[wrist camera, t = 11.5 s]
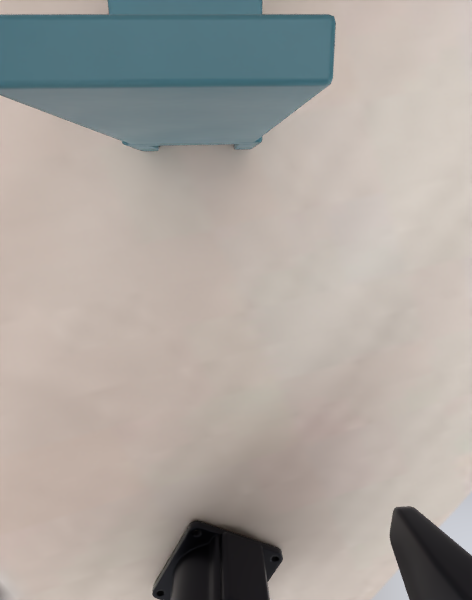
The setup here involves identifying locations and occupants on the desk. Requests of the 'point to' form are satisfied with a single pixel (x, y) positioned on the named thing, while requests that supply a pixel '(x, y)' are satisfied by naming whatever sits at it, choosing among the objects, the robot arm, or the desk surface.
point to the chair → (169, 69)
